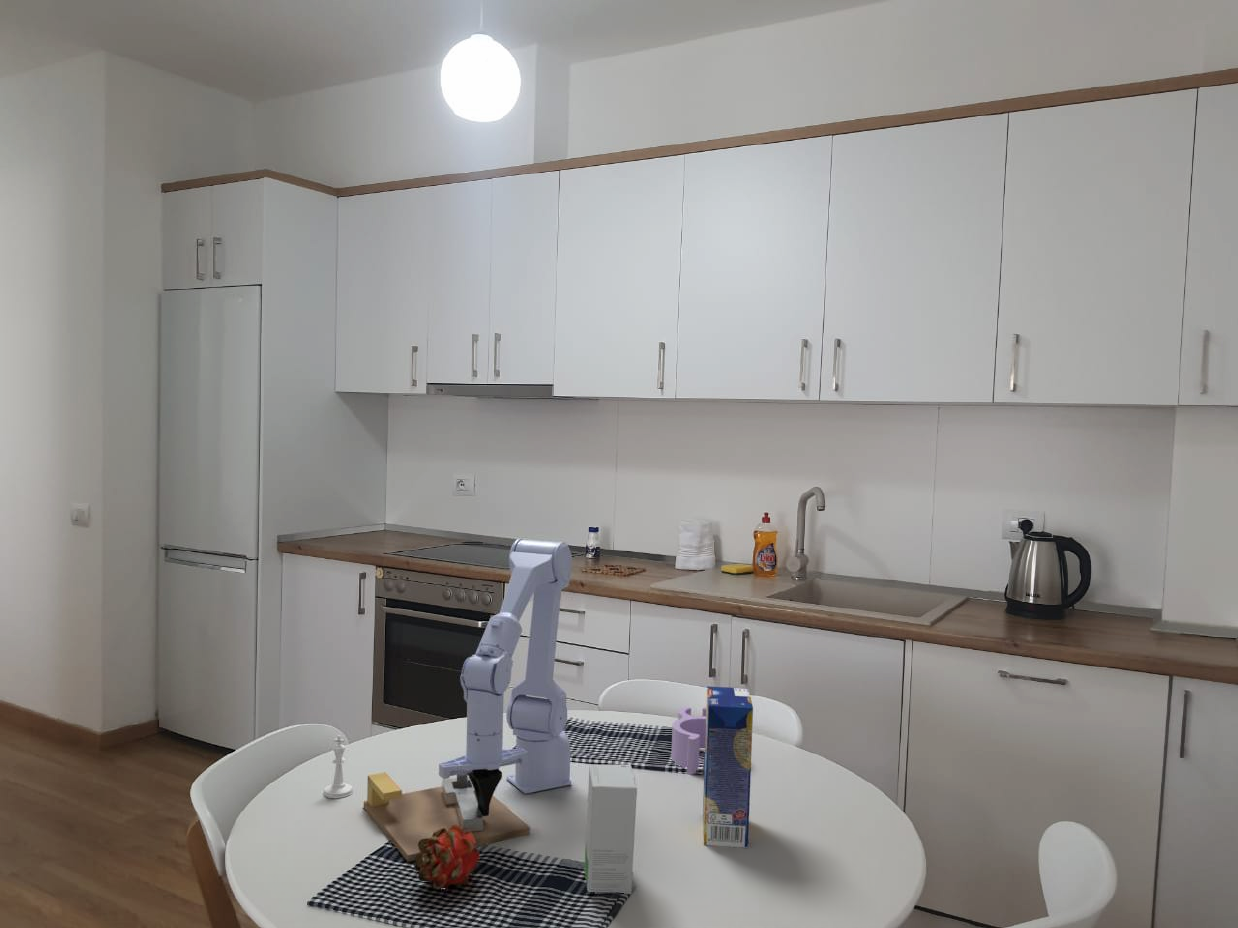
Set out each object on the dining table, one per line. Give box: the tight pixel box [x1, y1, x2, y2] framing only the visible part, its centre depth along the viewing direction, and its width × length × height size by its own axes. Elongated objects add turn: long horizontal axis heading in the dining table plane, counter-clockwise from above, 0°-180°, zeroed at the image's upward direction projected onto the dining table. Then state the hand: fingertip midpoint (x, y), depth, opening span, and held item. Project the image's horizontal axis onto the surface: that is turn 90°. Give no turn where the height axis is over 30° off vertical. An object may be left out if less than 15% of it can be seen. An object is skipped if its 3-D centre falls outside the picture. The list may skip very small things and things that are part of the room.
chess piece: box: [323, 734, 354, 799], centre depth 160 cm, size 5×5×10 cm
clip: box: [671, 706, 707, 776], centre depth 183 cm, size 20×12×7 cm, turn 2°
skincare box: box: [584, 764, 638, 895], centre depth 131 cm, size 8×7×16 cm
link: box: [441, 776, 483, 832], centre depth 152 cm, size 17×6×2 cm, turn 17°
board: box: [363, 773, 531, 863], centre depth 150 cm, size 20×22×5 cm
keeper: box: [366, 772, 403, 807], centre depth 151 cm, size 3×8×4 cm, turn 32°
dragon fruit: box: [413, 825, 480, 890], centre depth 130 cm, size 8×8×12 cm
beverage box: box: [702, 685, 754, 849], centre depth 149 cm, size 7×11×22 cm, turn 176°
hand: (483, 813), depth 148 cm, fingers closed, pressing on link
